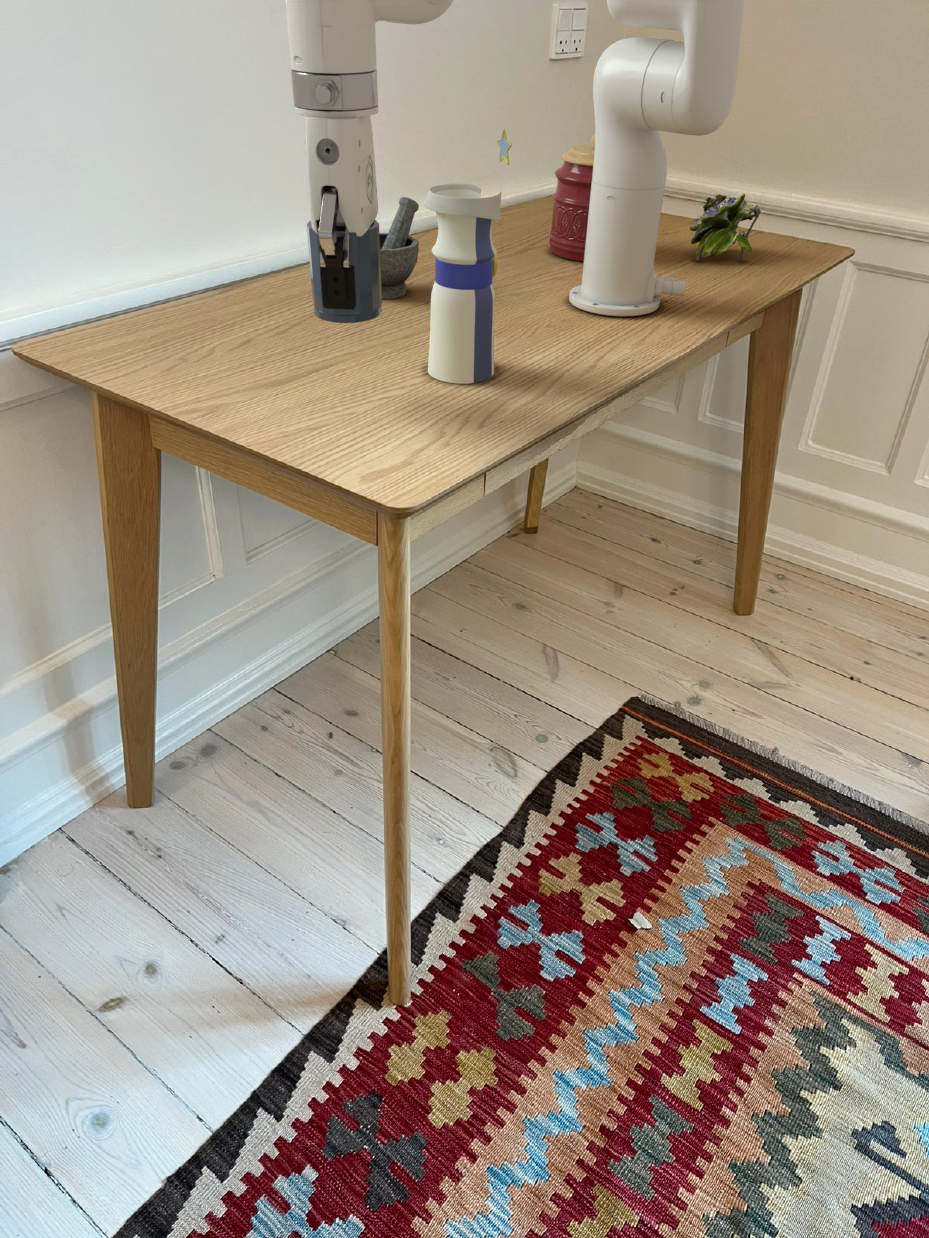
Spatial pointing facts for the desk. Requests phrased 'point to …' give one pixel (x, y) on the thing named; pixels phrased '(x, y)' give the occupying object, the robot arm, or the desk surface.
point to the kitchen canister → (572, 202)
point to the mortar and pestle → (398, 251)
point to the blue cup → (366, 276)
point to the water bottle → (463, 281)
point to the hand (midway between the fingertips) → (347, 294)
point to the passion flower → (722, 226)
